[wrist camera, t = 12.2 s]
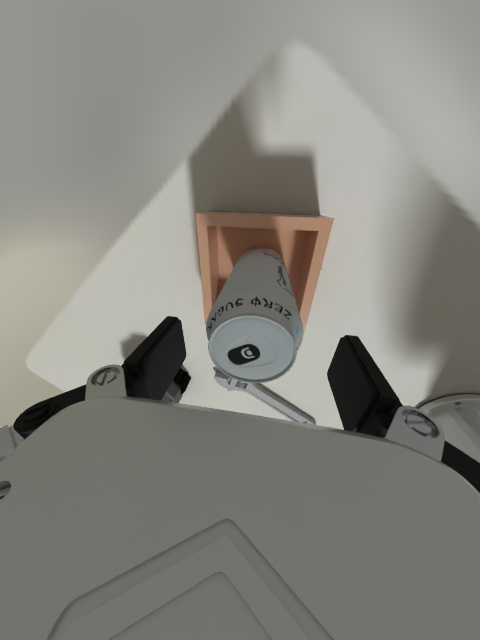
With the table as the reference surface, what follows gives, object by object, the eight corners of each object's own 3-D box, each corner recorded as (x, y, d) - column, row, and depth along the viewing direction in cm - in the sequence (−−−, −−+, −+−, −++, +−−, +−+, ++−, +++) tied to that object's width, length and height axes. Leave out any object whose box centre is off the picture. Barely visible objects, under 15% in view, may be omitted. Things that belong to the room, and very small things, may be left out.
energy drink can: (293, 281, 23) (324, 375, 10) (249, 300, 25) (232, 398, 13) (272, 234, 21) (281, 282, 8) (226, 260, 23) (175, 330, 10)
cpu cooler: (164, 424, 37) (114, 401, 35) (176, 398, 42) (133, 377, 39) (186, 400, 32) (129, 371, 29) (197, 374, 36) (148, 348, 34)
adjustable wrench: (318, 420, 40) (320, 428, 38) (293, 429, 43) (294, 437, 41) (230, 352, 32) (228, 359, 31) (208, 369, 35) (205, 376, 34)
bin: (320, 215, 20) (333, 218, 16) (298, 312, 26) (304, 333, 22) (210, 211, 21) (195, 213, 17) (214, 305, 27) (205, 324, 23)
